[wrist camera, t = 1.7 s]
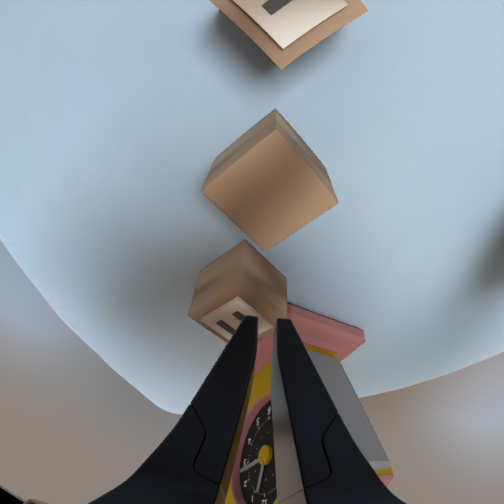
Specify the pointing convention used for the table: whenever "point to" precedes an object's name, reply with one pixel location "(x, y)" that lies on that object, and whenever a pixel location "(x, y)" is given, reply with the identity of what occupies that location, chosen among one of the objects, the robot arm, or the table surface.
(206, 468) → the robot arm
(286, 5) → the numbered block
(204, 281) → the numbered block
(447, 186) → the table surface
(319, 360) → the pink yellow upright block
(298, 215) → the plain block
